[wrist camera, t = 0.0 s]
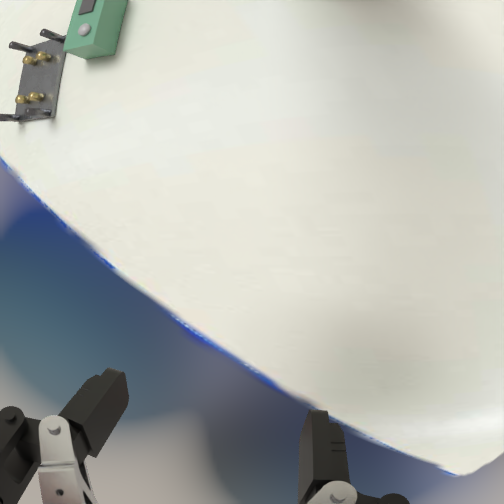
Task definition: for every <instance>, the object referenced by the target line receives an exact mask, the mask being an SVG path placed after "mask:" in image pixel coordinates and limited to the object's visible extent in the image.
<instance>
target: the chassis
mask: <svg viewBox="0 0 504 504" xmlns="http://www.w3.org/2000/svg"><path fill="white" fill-rule="evenodd" d="M40 36H43V37H46V38H49V39H52V40H49V41H45V42H42V43H39V44H36V45H34V46H27V45H24V44H20V43H17V42H13V41H12V42H11V43H10V44H9V48H12V49H16V50H20V51H24V52H26V56H25V57H24V58H23V63H24V65H23V70H22V75H21V80H20V85H19V91H18V95H17V97H16V99H15V102H16V103H17V105H16V112H15V114H0V121H14V122H21V121H27V120H33V119H40V118H48V117H55V113H56V105H57V98H58V92H59V85H60V80H61V74H62V69H63V64H64V59H65V55H66V52H65V51H63V48H64V44H65V40H66V36H67V35H65V36H62V35H59V34H57V33H54V32H52V31H49V30H47V29H42V30H41V32H40Z"/></svg>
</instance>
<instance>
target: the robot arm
mask: <svg viewBox="0 0 504 504" xmlns="http://www.w3.org/2000/svg"><path fill="white" fill-rule="evenodd" d="M128 401H129V395H128V388H127V382H126V376H125V373H124V372H121V371H119V370H115V369H112V368H107V369H106V370H105V371H104V372H103V374H102V375H101V376H99V375H95V376H93V377H91V378H90V379H88V380H87V381H86V382H85V383H84V384H83V385H82V387H81V389H79V390H78V391H77V393H76V395H74V396H73V398H72V399H71V400H70V401H69V403H68V404H67V405H66V406H65V407H64V409H63V410H62V411H61V413H60V414H59V415H58V416H56V415H52V416H48V417H46V418H44V419H43V420H36V419H32V418H27V417H25V416H24V414H23V412H22V411H21V410H20V409H19V408H17V407H14V406H9V407H5V408H3V409H2V410H1V411H0V504H17V503H18V501H19V499H20V498H21V496H22V494H23V493H24V491H25V489H26V487H27V486H28V484H29V482H30V481H31V479H32V477H33V475H34V474H35V472H36V471H37V469H38V475H39V482H40V489H41V495H42V500H43V504H98V503H97V500H96V498H95V496H94V493H93V490H92V486H91V482H90V479H89V475H88V471H87V467H86V463H85V458H86V456H87V455H90V456H93V457H95V458H96V457H97V455H98V454H99V452H100V450H101V449H102V447H103V445H104V444H105V442H106V440H107V439H108V437H109V436H110V434H111V432H112V430H113V429H114V427H115V426H116V424H117V422H118V421H119V419H120V417H121V416H122V414H123V413H124V411H125V409H126V408H127V405H128ZM41 463H42V465H40V464H41ZM298 504H409V501H408V500H407V499H406V498H405V497H404V496H402V495H400V494H395V493H392V494H387V495H385V496H383V497H382V498H381V499H380V498H375V497H371V496H367V495H363V494H361V493H359V492H357V491H356V490H355V488H354V487H353V486H352V485H351V483H350V479H349V472H348V463H347V454H346V446H345V439H344V432H343V431H342V429H341V428H340V426H339V425H338V423H329V417H328V412H327V411H322V410H309V412H308V415H307V417H306V420H305V423H304V426H303V428H302V431H301V435H300V441H299V483H298Z"/></svg>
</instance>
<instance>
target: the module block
mask: <svg viewBox="0 0 504 504" xmlns="http://www.w3.org/2000/svg"><path fill="white" fill-rule="evenodd" d="M127 2H128V0H77V2H76V5H75V8H74V11H73V14H72V18H71V21H70V25H69V28H68V32H67V36H66V40H65V44H64V48H63V51H65V52H67V53H70V54H73V55H76V56H78V57H81V58H84V59H90V58H96V57H101V56H108V55H115V51H116V46H117V42H118V37H119V33H120V29H121V24H122V20H123V17H124V13H125V9H126V5H127Z"/></svg>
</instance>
